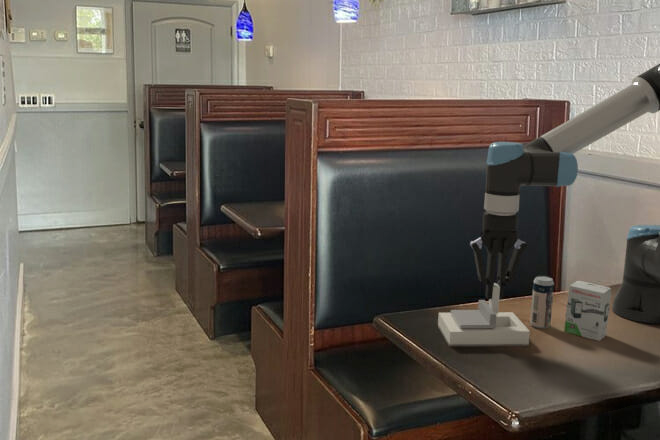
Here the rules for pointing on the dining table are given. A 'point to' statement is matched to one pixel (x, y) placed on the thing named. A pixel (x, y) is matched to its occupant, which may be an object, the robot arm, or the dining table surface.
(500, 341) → the socket plate
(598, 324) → the ink box
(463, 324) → the shutter
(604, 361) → the dining table surface
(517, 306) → the dining table surface
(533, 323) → the beer can
